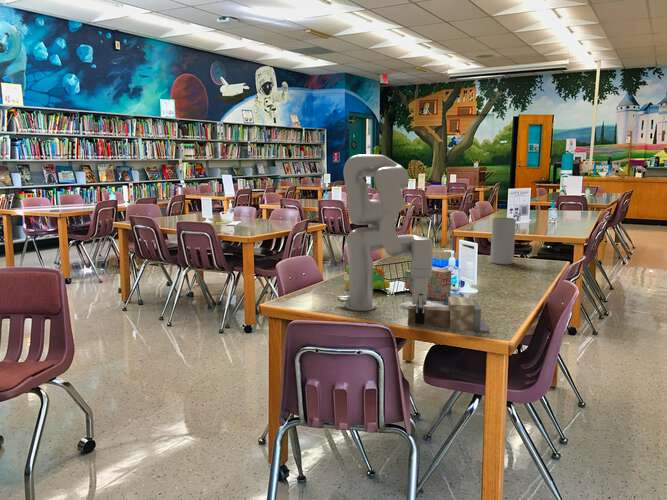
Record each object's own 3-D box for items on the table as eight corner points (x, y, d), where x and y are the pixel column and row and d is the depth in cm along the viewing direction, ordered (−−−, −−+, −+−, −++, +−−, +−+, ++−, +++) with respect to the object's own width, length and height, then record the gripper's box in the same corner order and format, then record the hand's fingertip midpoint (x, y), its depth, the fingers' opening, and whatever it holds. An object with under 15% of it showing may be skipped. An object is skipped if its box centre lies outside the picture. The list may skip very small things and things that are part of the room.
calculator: (420, 302, 242) (420, 298, 242) (459, 312, 227) (460, 308, 227) (398, 307, 234) (398, 303, 233) (437, 319, 219) (438, 314, 218)
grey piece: (474, 331, 201) (475, 309, 200) (469, 320, 215) (470, 299, 214) (488, 332, 201) (490, 309, 200) (483, 320, 215) (484, 299, 213)
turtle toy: (363, 281, 279) (363, 257, 277) (394, 291, 260) (395, 265, 258) (334, 286, 269) (334, 261, 267) (364, 296, 250) (365, 269, 248)
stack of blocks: (404, 291, 261) (405, 264, 259) (413, 289, 265) (414, 262, 263) (441, 300, 244) (442, 271, 242) (450, 298, 248) (451, 270, 246)
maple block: (450, 329, 204) (451, 304, 202) (447, 320, 214) (448, 296, 213) (473, 330, 203) (474, 305, 201) (469, 321, 214) (470, 297, 212)
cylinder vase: (514, 261, 333) (516, 218, 329) (512, 265, 321) (515, 220, 317) (491, 260, 337) (493, 217, 333) (489, 263, 326) (491, 219, 322)
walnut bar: (408, 325, 208) (408, 308, 207) (407, 321, 213) (408, 305, 212) (459, 327, 206) (460, 310, 205) (458, 323, 211) (458, 307, 210)
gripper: (410, 267, 216) (408, 315, 219) (410, 276, 199) (409, 328, 202) (430, 267, 215) (428, 315, 218) (432, 277, 198) (431, 329, 201)
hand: (419, 321), depth 210 cm, fingers closed on walnut bar, 4 cm apart
